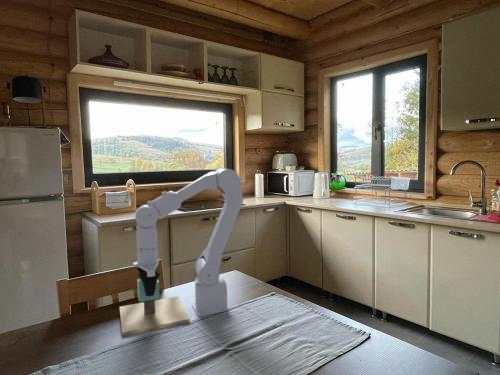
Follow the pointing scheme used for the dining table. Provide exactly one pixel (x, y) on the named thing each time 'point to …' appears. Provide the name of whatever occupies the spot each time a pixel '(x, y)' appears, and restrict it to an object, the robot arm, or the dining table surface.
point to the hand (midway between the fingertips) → (148, 292)
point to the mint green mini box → (141, 291)
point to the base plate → (152, 315)
